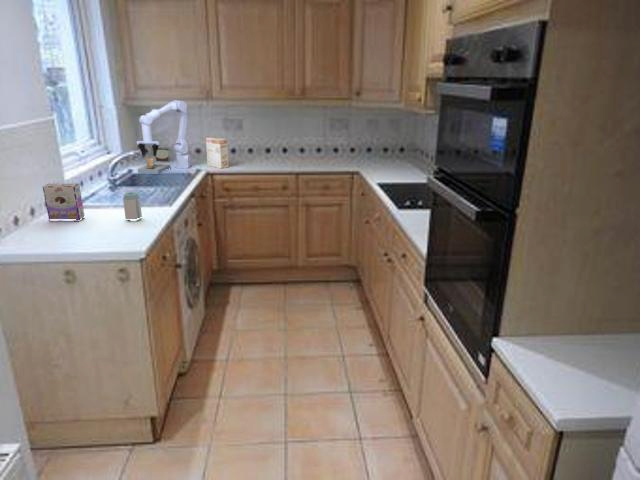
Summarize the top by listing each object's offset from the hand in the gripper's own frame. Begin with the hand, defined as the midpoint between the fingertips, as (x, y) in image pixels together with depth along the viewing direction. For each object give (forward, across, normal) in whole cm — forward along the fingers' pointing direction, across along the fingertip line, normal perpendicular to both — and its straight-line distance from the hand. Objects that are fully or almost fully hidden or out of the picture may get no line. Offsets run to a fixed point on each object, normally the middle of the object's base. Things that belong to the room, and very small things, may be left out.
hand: (149, 155), depth 317 cm
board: (+10, +1, +3) cm, 11 cm away
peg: (+10, +1, -1) cm, 11 cm away
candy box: (+10, +12, -106) cm, 107 cm away
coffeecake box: (+11, +37, +25) cm, 46 cm away
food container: (+11, -8, +36) cm, 38 cm away
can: (+10, +41, -100) cm, 109 cm away
